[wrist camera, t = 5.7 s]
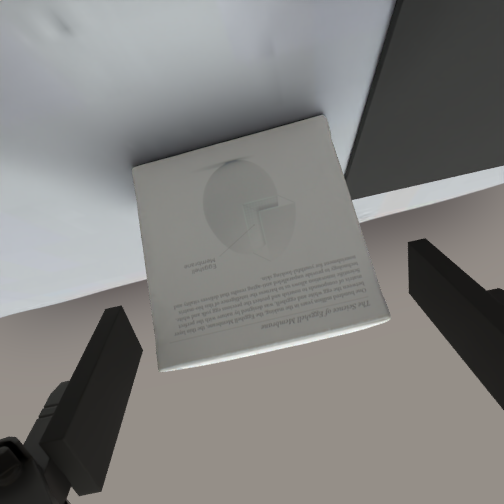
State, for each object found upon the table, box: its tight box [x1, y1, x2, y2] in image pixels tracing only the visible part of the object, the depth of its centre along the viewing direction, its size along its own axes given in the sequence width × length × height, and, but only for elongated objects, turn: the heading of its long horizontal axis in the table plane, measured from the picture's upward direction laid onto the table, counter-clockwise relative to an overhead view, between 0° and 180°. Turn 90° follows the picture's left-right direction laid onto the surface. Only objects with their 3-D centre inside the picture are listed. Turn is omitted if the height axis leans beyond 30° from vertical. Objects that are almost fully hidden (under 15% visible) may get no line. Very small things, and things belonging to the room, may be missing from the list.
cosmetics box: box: [132, 115, 391, 372], centre depth 20 cm, size 10×6×10 cm, turn 100°
